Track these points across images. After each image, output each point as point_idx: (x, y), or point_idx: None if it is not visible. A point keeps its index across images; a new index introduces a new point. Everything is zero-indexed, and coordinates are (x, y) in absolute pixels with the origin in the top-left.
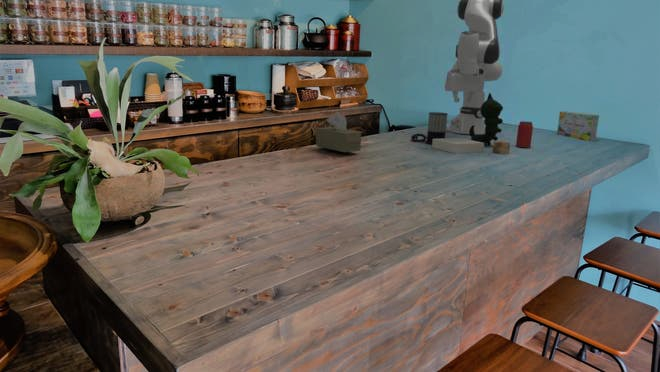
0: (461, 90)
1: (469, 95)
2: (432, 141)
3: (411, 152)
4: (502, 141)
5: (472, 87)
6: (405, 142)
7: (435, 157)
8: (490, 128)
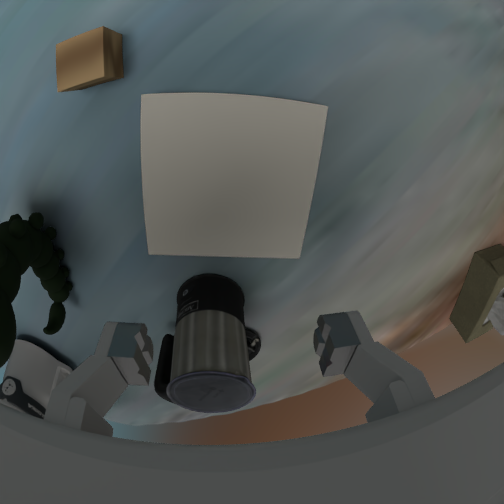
0: (386, 430)
1: (109, 408)
2: (239, 295)
3: (427, 184)
4: (64, 74)
5: (98, 499)
6: (291, 331)
7: (432, 86)
8: (15, 239)
